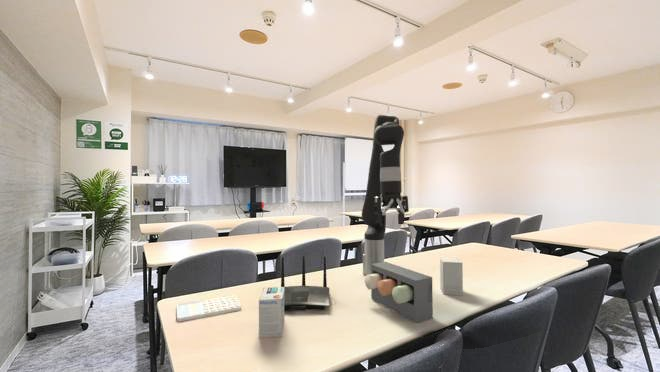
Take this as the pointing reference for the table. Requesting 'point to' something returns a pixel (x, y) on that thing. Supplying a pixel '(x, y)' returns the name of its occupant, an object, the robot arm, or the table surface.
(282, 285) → the router
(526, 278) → the table surface
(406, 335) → the table surface
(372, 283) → the cream button
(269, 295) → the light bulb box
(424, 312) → the button panel
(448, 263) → the supplement box
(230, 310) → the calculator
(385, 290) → the terracotta button
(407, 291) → the sage button
